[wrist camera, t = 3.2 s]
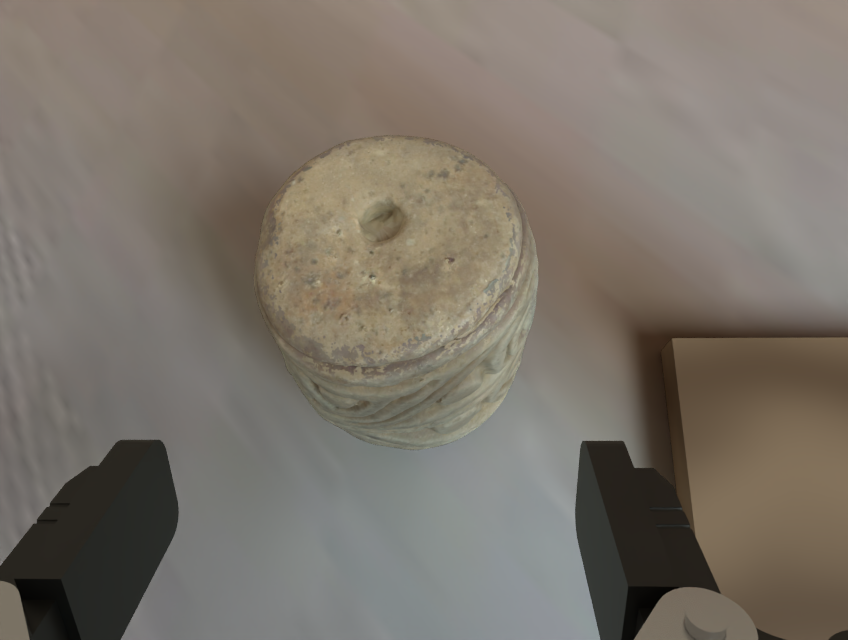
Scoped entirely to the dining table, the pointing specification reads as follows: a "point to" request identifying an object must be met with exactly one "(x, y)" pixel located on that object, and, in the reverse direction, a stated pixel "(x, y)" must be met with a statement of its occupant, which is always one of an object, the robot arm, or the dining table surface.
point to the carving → (398, 288)
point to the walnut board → (766, 473)
